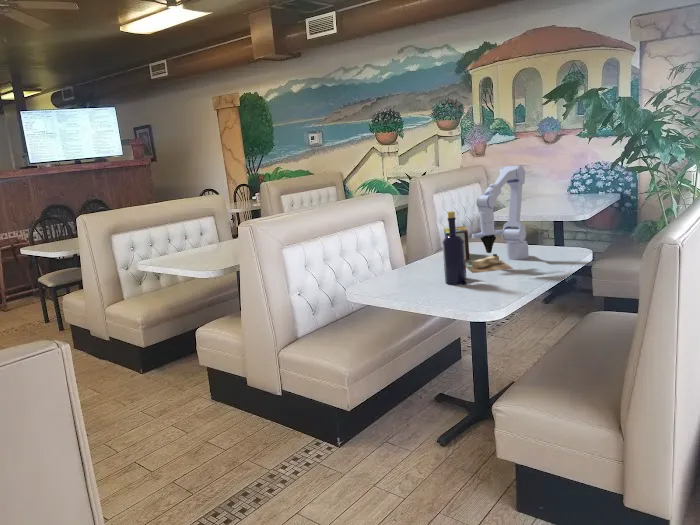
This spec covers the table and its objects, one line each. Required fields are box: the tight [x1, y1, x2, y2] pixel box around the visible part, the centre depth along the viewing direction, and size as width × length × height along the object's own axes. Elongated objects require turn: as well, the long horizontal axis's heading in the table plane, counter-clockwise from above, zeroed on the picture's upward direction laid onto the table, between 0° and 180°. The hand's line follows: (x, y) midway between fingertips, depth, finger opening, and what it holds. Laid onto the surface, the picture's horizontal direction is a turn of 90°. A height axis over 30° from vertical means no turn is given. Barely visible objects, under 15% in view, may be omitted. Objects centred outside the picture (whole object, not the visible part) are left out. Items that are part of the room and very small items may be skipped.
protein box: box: [443, 225, 471, 261], centre depth 278 cm, size 10×15×16 cm
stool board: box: [466, 259, 514, 274], centre depth 254 cm, size 18×18×1 cm
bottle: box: [442, 210, 468, 286], centre depth 234 cm, size 9×9×30 cm
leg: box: [472, 253, 500, 269], centre depth 255 cm, size 14×3×4 cm, turn 124°
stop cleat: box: [467, 258, 480, 265], centre depth 261 cm, size 8×1×2 cm, turn 92°
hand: (488, 252), depth 248 cm, fingers closed
